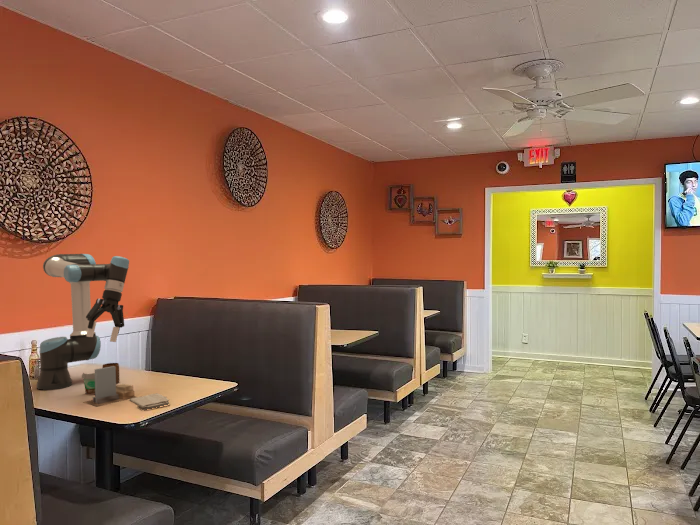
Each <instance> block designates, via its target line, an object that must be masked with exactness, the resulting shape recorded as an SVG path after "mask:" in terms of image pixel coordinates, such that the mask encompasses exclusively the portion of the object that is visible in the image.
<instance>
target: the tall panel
mask: <svg viewBox="0 0 700 525" xmlns="http://www.w3.org/2000/svg"><path fill="white" fill-rule="evenodd" d="M94 373H95V394H94V397H95V402H96V403H97V399H99V398H103V397H107V396H112V395H116V385H117V383H116V368H115V366H111V367H105V368H102V367H100V368H95V369H94Z"/></svg>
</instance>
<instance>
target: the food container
mask: <svg viewBox="0 0 700 525" xmlns="http://www.w3.org/2000/svg"><path fill="white" fill-rule="evenodd" d="M81 378H82V379H83V383H84V384H83V385H84V390H85V394H87V395H92V394H93V395H95V372H93V373H84V372H82V375H81Z"/></svg>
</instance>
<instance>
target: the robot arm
mask: <svg viewBox="0 0 700 525" xmlns="http://www.w3.org/2000/svg"><path fill="white" fill-rule="evenodd" d="M109 262H110V263H99V264H98V263H96V260H95V258H94V257H93V255H91V254H89V253H60V254H59V253H58V254H53V255H51V256H49V257H47V258H46V259H45V260H44V261H43V265H42V269H43V272H44V273H45V274H46V275H47V276H50V277H52V278H63V279H64V280H65V281H66V282H68V283H69V284H70V297H71V299H70V300H71V314H72V315H71V317H72V332H71V333H70V335H69V339H68V338H67V336H56V337H52V338H48V339H45V340H43V341H41V343H40V344H39V364H40V365H39V367H40V369H39V370H40V372H39V375H38V378H37V382H36V389H37V388H38V389H37V390H39V389H43V390H42V391H48V390H57V389H58V390H59V389H65V388H68V387H70V386H72V385H73V379H72V378H71V374H70V371H69V367H68V366H69V365H68V364H69V363H77V362H83V361H89V360H94V359H96V358H97V357H98V356H99V354H100V351H101V346H102V345H101V338H100V336H99V335H96V332H95V329H96V325H97V321H96V320H97V319H98V318H99V317H101V315H103V314H104V313H105V312H107V313H109V314H110V315H111V318H112V321H113V325H114V326H113V327H112V330H111V335H110V340H109V342H113V343H116V342H117V340H118V339H117V338H118V335H120V333H119V332H120V329H121V328H123V327H125V318H124V305H123V304H119V302H121V300H122V295H123V294H122V293H123V291H124V287H125V283H126V278H127V275H128V270H129V265H130V260H129V259H128V258H126V257H123V256H119V255H115V256H112V258H111V260H110V261H109ZM100 281H101V282H105V285H104V288H103V289H104V290H103V291H102V296H101V298H97V299H96V300H95V303H94V304H93V306H92V305H91V284H90V283H91V282H100ZM67 386H68V387H67Z"/></svg>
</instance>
